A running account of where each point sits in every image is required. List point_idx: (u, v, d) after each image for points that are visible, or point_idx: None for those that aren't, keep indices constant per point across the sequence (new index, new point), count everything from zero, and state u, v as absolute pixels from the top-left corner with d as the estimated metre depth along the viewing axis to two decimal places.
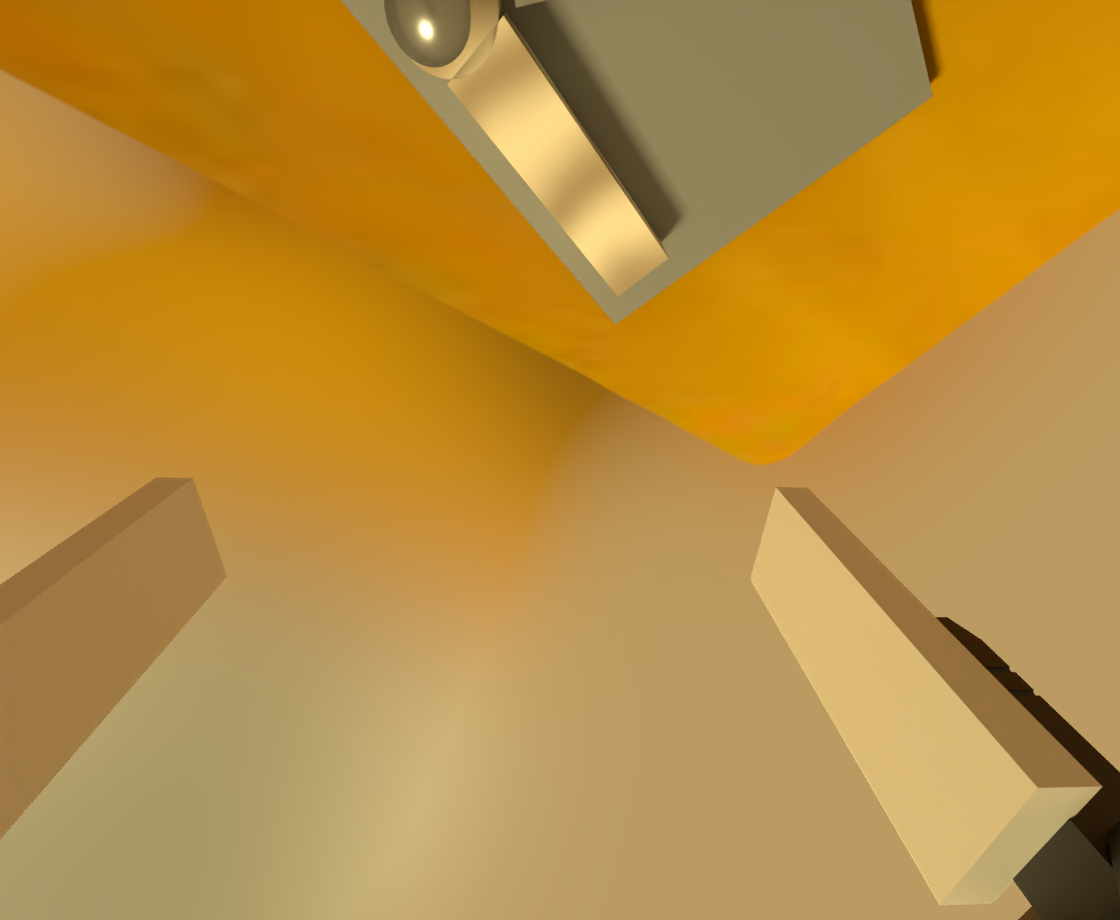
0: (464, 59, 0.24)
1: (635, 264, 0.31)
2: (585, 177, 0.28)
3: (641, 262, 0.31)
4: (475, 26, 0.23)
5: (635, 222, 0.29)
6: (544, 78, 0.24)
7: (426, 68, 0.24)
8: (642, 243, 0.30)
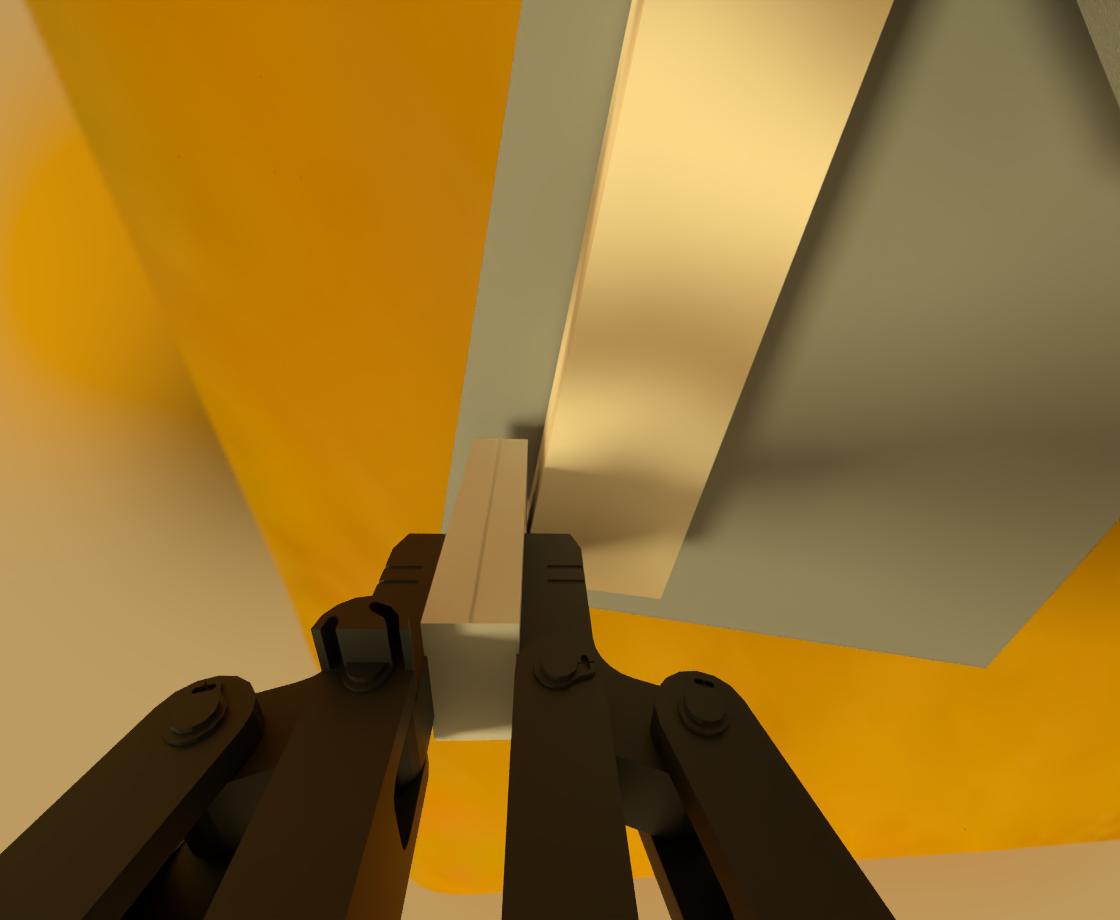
0: None
1: (606, 560, 0.13)
2: (704, 341, 0.10)
3: (618, 566, 0.13)
4: None
5: (683, 501, 0.12)
6: (859, 77, 0.08)
7: None
8: (655, 541, 0.13)
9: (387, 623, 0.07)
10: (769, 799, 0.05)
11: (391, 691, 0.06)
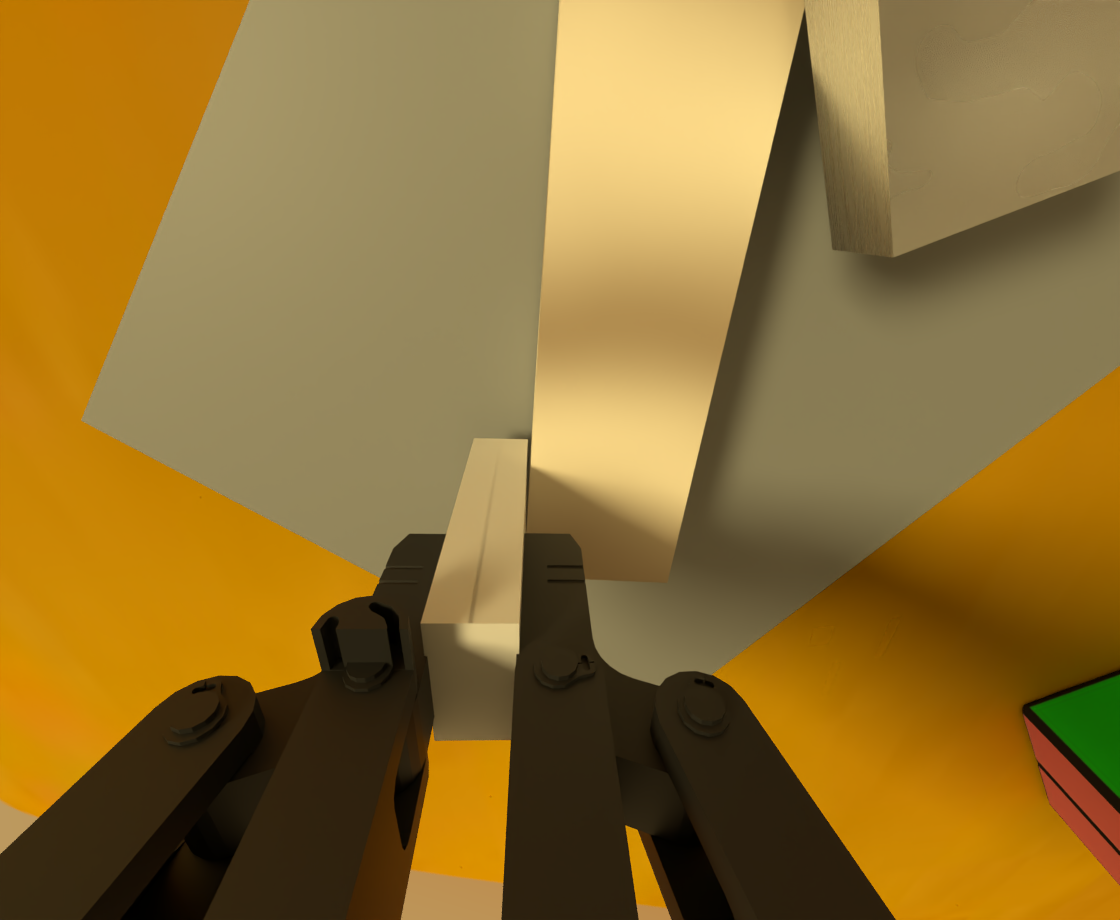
0: None
1: (606, 548, 0.13)
2: (673, 317, 0.10)
3: (619, 554, 0.13)
4: None
5: (675, 482, 0.12)
6: (796, 23, 0.08)
7: None
8: (653, 525, 0.13)
9: (387, 623, 0.07)
10: (769, 799, 0.05)
11: (391, 691, 0.06)
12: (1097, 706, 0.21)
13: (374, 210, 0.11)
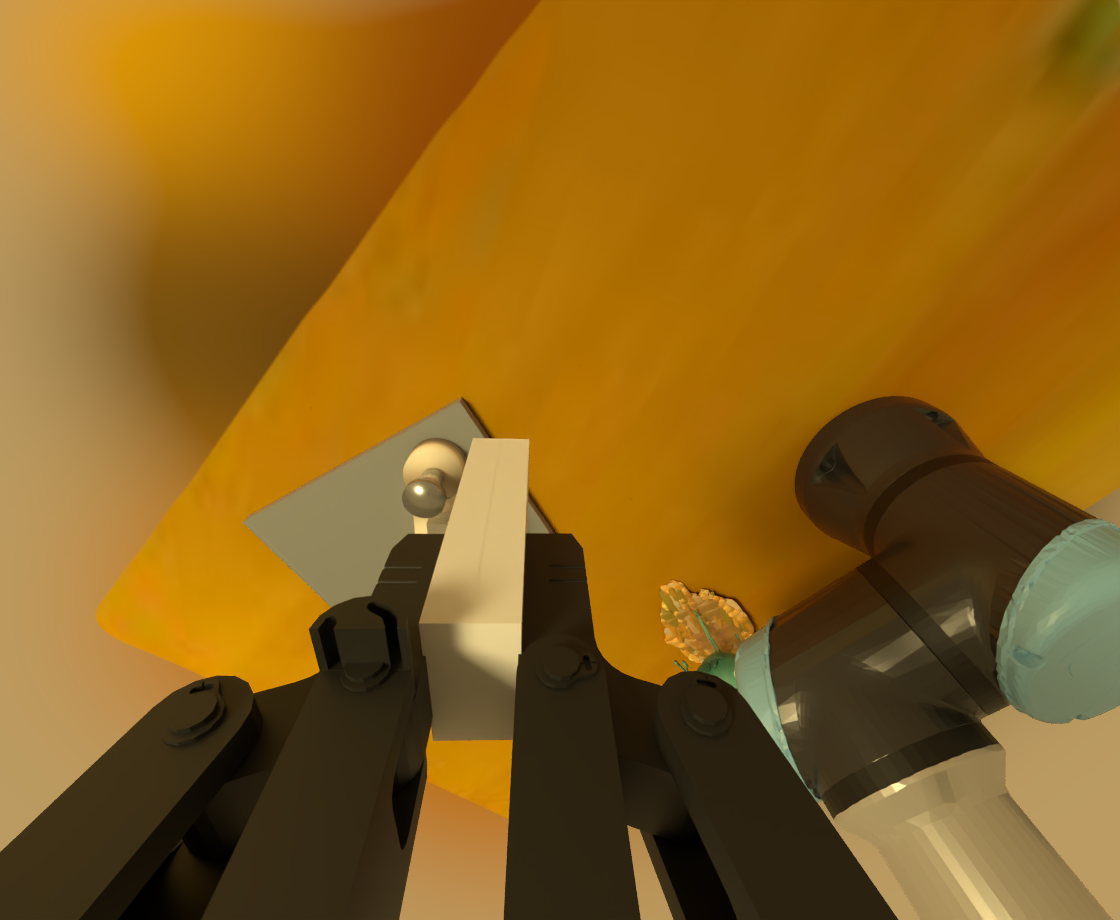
0: None
1: None
2: None
3: None
4: None
5: None
6: None
7: (407, 484, 0.42)
8: None
9: (385, 623, 0.07)
10: (772, 799, 0.05)
11: (389, 691, 0.06)
12: None
13: (347, 508, 0.46)
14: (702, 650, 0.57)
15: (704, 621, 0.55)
